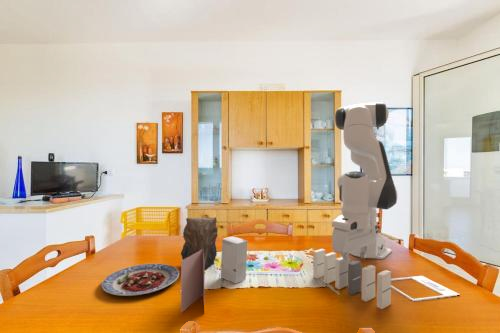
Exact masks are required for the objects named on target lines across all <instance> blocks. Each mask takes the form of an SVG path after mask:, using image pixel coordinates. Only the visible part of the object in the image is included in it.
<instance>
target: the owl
mask: <svg viewBox="0 0 500 333" xmlns="http://www.w3.org/2000/svg"><path fill="white" fill-rule="evenodd" d="M185 219H186V224H185V226H184V228H183V233H182V235H183V236H182V238H183V240H184V241H185V242H184V244H183V246H182V250H181V252H180V255H181V259H182V260H184V259H186V258H188V257H189V256H191V255H193V254H195V253H197V252H199V251H200V250H202V249H203V253H204V262H205V271H207V269H209V268H211V267H212V266H213V265H215V261H216V259H217V254H218V252H217V247H216V241H217V237H218V227H217V217H209V216H201V217H186V218H185Z"/></svg>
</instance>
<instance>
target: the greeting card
mask: <svg viewBox="0 0 500 333" xmlns="http://www.w3.org/2000/svg"><path fill="white" fill-rule="evenodd" d="M180 268H181V269H180V313H183V312H184V311H186V309H188V308H189V307H190V306H191V305H193V303H195V302H196V301H197V300H199V298H201V297H202V303H203V304H205V272H206V270H205V262H204V253H203V249H202V250H200V251H199V252H197V253H195V254H193V255H191V256H189V257H188V258H186V259H184V260H183V259H182V260H181V261H180Z"/></svg>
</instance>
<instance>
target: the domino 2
mask: <svg viewBox="0 0 500 333" xmlns="http://www.w3.org/2000/svg"><path fill="white" fill-rule="evenodd" d="M335 259H337V252H334V251H331V252H328V253H325V255H324V276H323V282H324V283H326V284H330V283H332V282H335Z"/></svg>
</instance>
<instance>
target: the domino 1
mask: <svg viewBox="0 0 500 333" xmlns="http://www.w3.org/2000/svg"><path fill="white" fill-rule="evenodd" d="M312 251H313V252H312V253H313V254H312V255H313V256H312V257H313V262H312V263H313V264H312V269H313V270H312V271H313V272H312V277H313V278H315V279H319V278H320V279H321V278H322V277H324V255H325V254H326V249H324V248H319V249H315V250H312Z"/></svg>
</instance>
